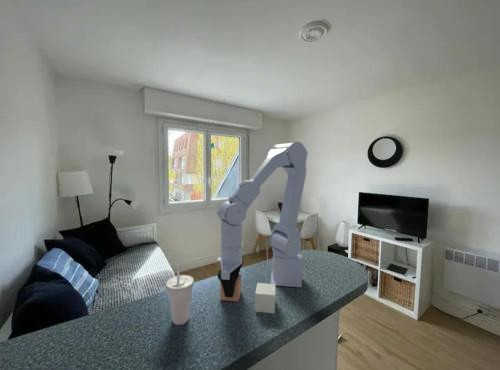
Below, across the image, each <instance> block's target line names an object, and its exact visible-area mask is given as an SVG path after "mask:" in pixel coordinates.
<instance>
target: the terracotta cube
mask: <svg viewBox="0 0 500 370" xmlns="http://www.w3.org/2000/svg"><path fill="white" fill-rule="evenodd" d="M219 282H220V281H219ZM219 290H220V293H219V294H220V296H219V297H220V300H221V301H228V302H229V301H230V302H239V300H240V296H241V293H242V274H239V276H238V278H237V280H236V283H235V289H234V294H233V297H225V294H224V290H223V287H222V284H221V282H220V289H219Z"/></svg>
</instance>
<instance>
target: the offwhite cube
mask: <svg viewBox="0 0 500 370" xmlns="http://www.w3.org/2000/svg"><path fill="white" fill-rule="evenodd" d="M254 297H255V298H254V299H255V305H254V306H255V307H254V312H255V313H257V312H258V313H265V314H276V310H275V309H276V285H275V284H271V283H265V282H264V283H262V282H257V284H256V289H255V295H254Z"/></svg>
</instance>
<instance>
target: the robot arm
mask: <svg viewBox="0 0 500 370" xmlns="http://www.w3.org/2000/svg"><path fill="white" fill-rule="evenodd" d="M308 153H309V152H308V150H307V149H306V147H305V146H304V144H303V143H302V142H301V141H294V142H287V143H276V144H275V145H273V147H272V148H271V149H270V150H269V151H268V153H267V157H266V158H265V159H264V161H263V162H262V163H261V164H260V166H259V167H258V169H257V170H256V171H255V173H254V174H253V176H252V177H251V178H250V179H246V180H243V182H242V181H241V182H240V183H239V184H238V188H237V189H236V190H235V191H234V193H232V195H231V196H229V197H228V198H227V199H228V200H226V201H224V202H222V203H221V204H220V206H219V210H217V212H216V213H217V215H218V218H219V219H220V221H221V222H220V224H221V225H220V256H219V257H217V259H216V263H220V267H221V270H218V272H217V279H218V280H219V282H221V284H222V287H223V290H224V294H225V297H233V294H234V289H235V283H236V280H237V278H238V276H239V275H240V272H241V269H242V266H243V265H244V259H243V258H242V256H243V255H242V254H243V253H242V251H243V250H242V244H243V243H242V242H243V239H242V238H243V235H242V234H243V232H242V231H243V227H242V226H243V225H242V223H243V222H244V221H245V220H246V218H247V211H248V210H249V208H250V207H251V206H252V204H253V203H254V201H255V200H256V199H257V198H258V196H259V195H260V194H261V186H262V185H263V184H264V183H265V182H266V181H267V180H268V179H269V178H270V176H271V175H272V174H273V173H274V172H275V171H276V170H277V169H278V168H282V169H283V170H284V171H285V173H286V174H287V179H286V183H285V184H286V185H285V189H284V196H283V200H282V204H281V205H282V206H281V211H280V216H279V220H278V221H279V222H278V223H276V224H275V225H273V228H272V232H270V235H269V237H268V244H269V246H270V247H271V249H272V250H271V251H272V271H271V275H270V276H271V277H270V284H275V286H277V287H282V286H283V287H292V288H294V287H295V288H302V287H303V285H302V284H303V255H302V254H300V251H301V249H302V241H301V238H302V233H301V232H300V229H298V227H297V224H298V218H299V213H300V209H301V208H300V207H301V203H302V202H301V201H302V197H303V193H304V192H303V191H304V187H305V181H306V176H307V159H308V158H307V157H308Z"/></svg>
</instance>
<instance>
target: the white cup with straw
mask: <svg viewBox="0 0 500 370" xmlns="http://www.w3.org/2000/svg"><path fill="white" fill-rule="evenodd" d="M194 280H195V279H194V277H192V275H188V274H180V264H176V275H175V276H173V277H170V278H169V279H167V281H166V282H165V283H166V284H165V290H166V291H167V294H168V300H169V305H170V312H171V318H172V323H173V324H175V326H176V325H178V326H179V325H184V324H186V323H187V322H188V321H189V318H190V310H191V302H192V293H193V287H194V284H195V281H194Z"/></svg>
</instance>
